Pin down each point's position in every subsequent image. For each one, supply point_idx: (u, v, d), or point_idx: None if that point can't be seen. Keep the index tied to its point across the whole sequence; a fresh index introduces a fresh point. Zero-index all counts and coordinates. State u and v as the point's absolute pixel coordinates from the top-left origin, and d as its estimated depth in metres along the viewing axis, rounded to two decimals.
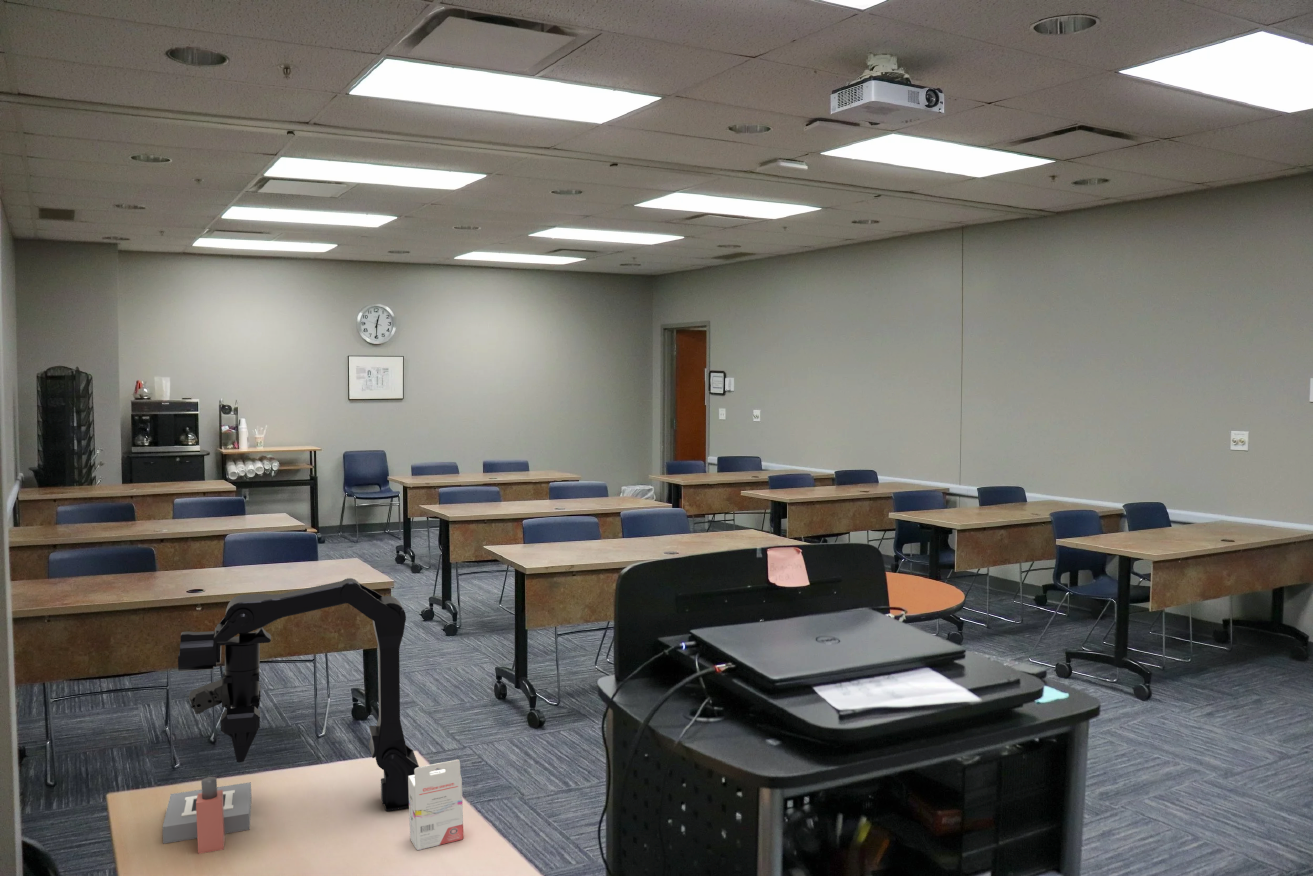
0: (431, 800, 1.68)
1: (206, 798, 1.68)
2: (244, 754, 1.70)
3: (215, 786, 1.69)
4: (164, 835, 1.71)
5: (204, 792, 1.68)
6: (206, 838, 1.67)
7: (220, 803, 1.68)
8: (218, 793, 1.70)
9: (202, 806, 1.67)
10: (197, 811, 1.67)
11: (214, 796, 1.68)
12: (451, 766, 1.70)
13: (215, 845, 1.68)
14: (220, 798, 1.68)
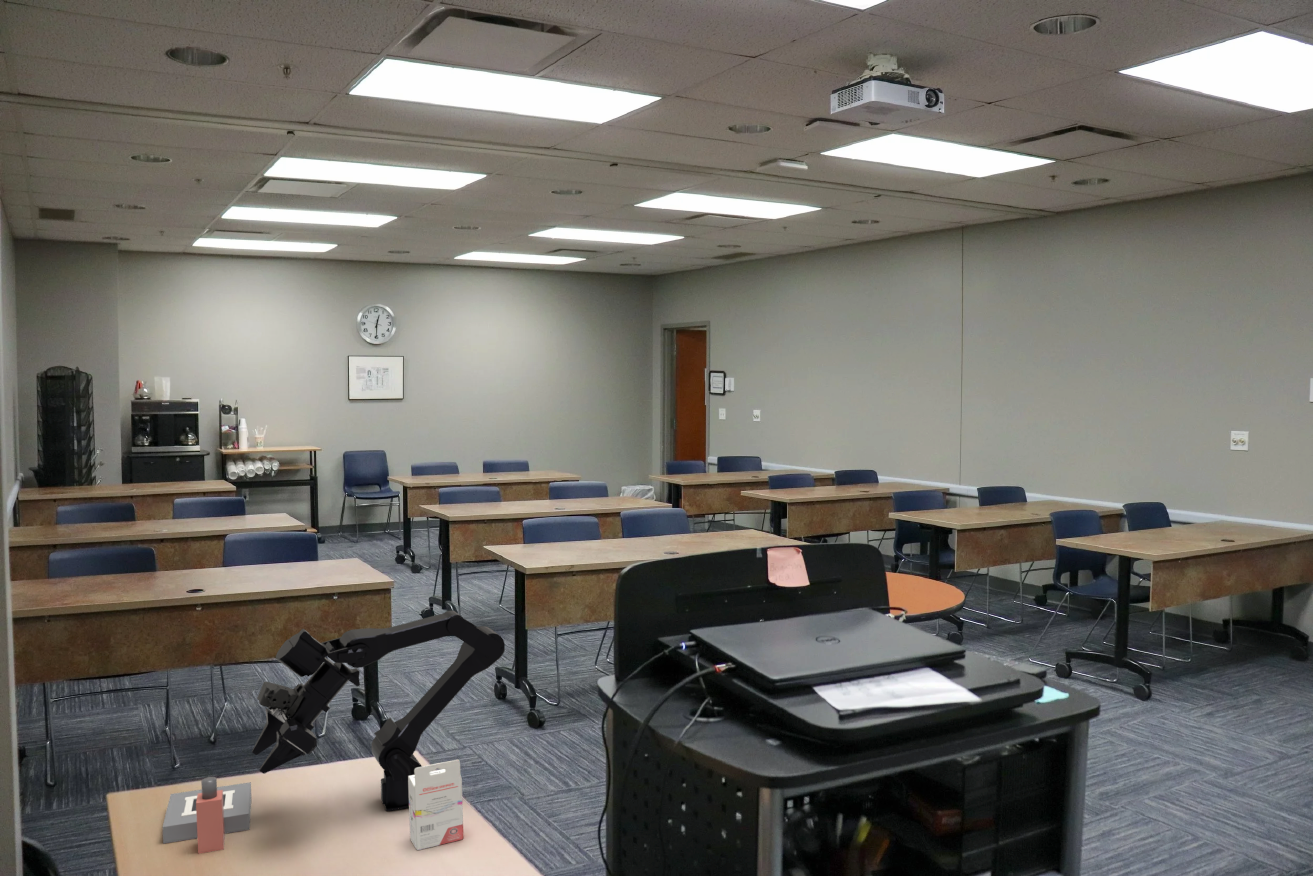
0: (431, 800, 1.68)
1: (206, 798, 1.68)
2: (271, 768, 1.69)
3: (215, 786, 1.69)
4: (164, 835, 1.71)
5: (204, 792, 1.68)
6: (206, 838, 1.67)
7: (220, 803, 1.68)
8: (218, 793, 1.70)
9: (202, 806, 1.67)
10: (197, 811, 1.67)
11: (214, 796, 1.68)
12: (451, 766, 1.70)
13: (215, 845, 1.68)
14: (220, 798, 1.68)
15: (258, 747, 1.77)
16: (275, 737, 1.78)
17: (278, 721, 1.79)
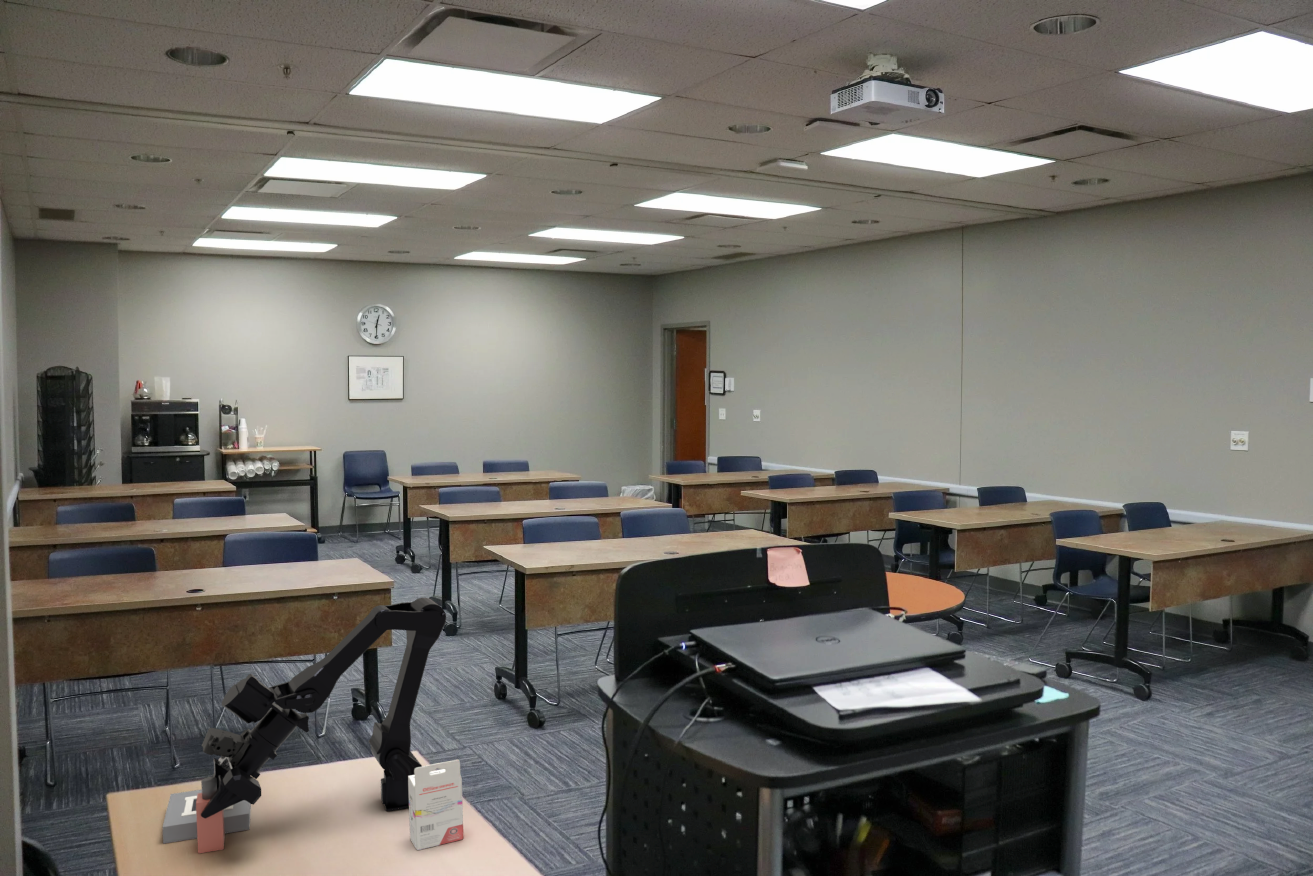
0: (431, 800, 1.68)
1: (206, 798, 1.68)
2: (212, 813, 1.67)
3: (215, 786, 1.69)
4: (164, 835, 1.71)
5: (204, 792, 1.68)
6: (206, 838, 1.67)
7: None
8: None
9: (202, 806, 1.67)
10: (197, 811, 1.66)
11: None
12: (451, 766, 1.70)
13: (214, 845, 1.68)
14: None
15: None
16: None
17: (226, 772, 1.73)
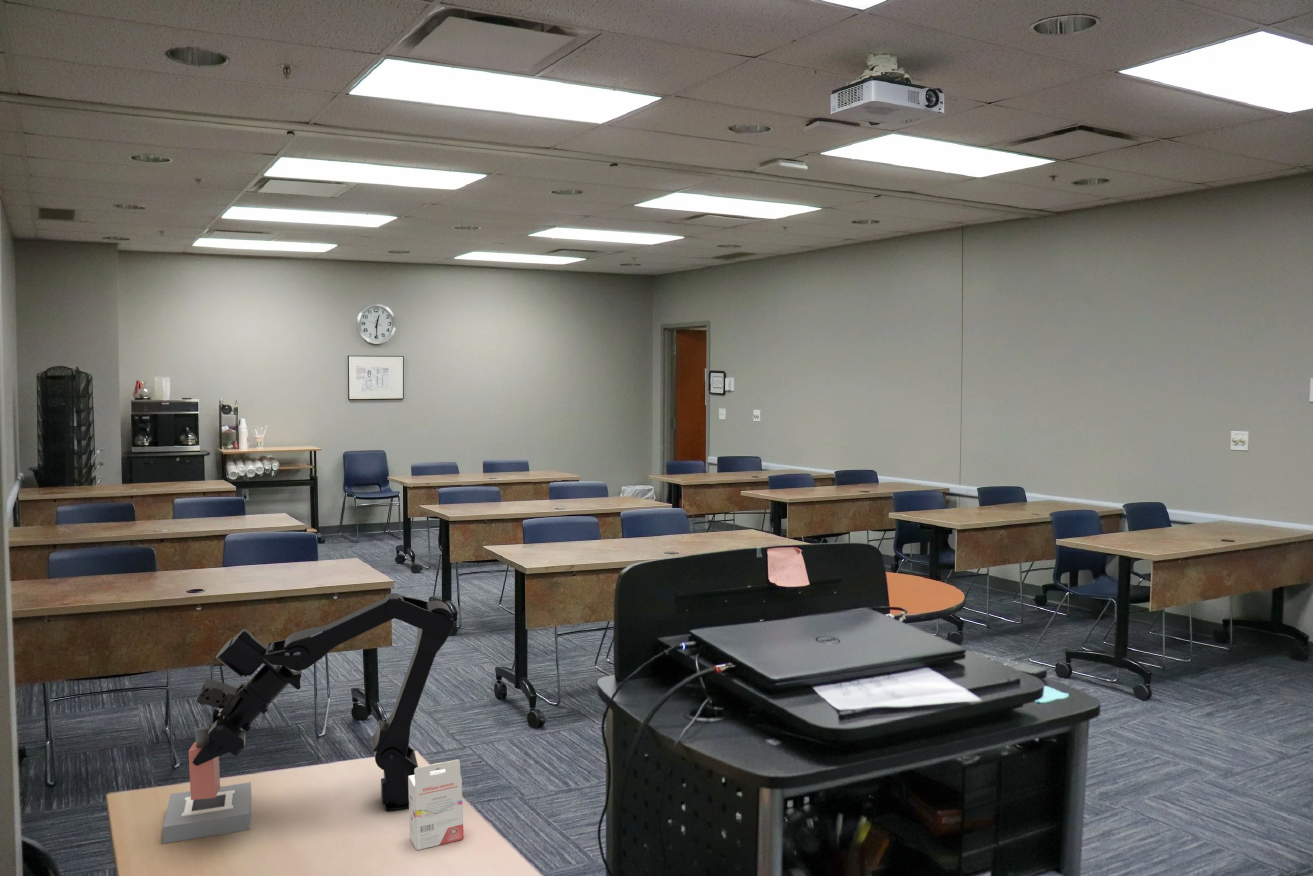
0: (431, 800, 1.68)
1: (199, 747, 1.73)
2: (203, 761, 1.71)
3: (208, 736, 1.73)
4: (164, 835, 1.71)
5: (197, 741, 1.73)
6: (198, 785, 1.72)
7: None
8: None
9: (194, 754, 1.72)
10: (189, 758, 1.72)
11: None
12: (451, 766, 1.70)
13: (206, 793, 1.73)
14: None
15: None
16: None
17: None
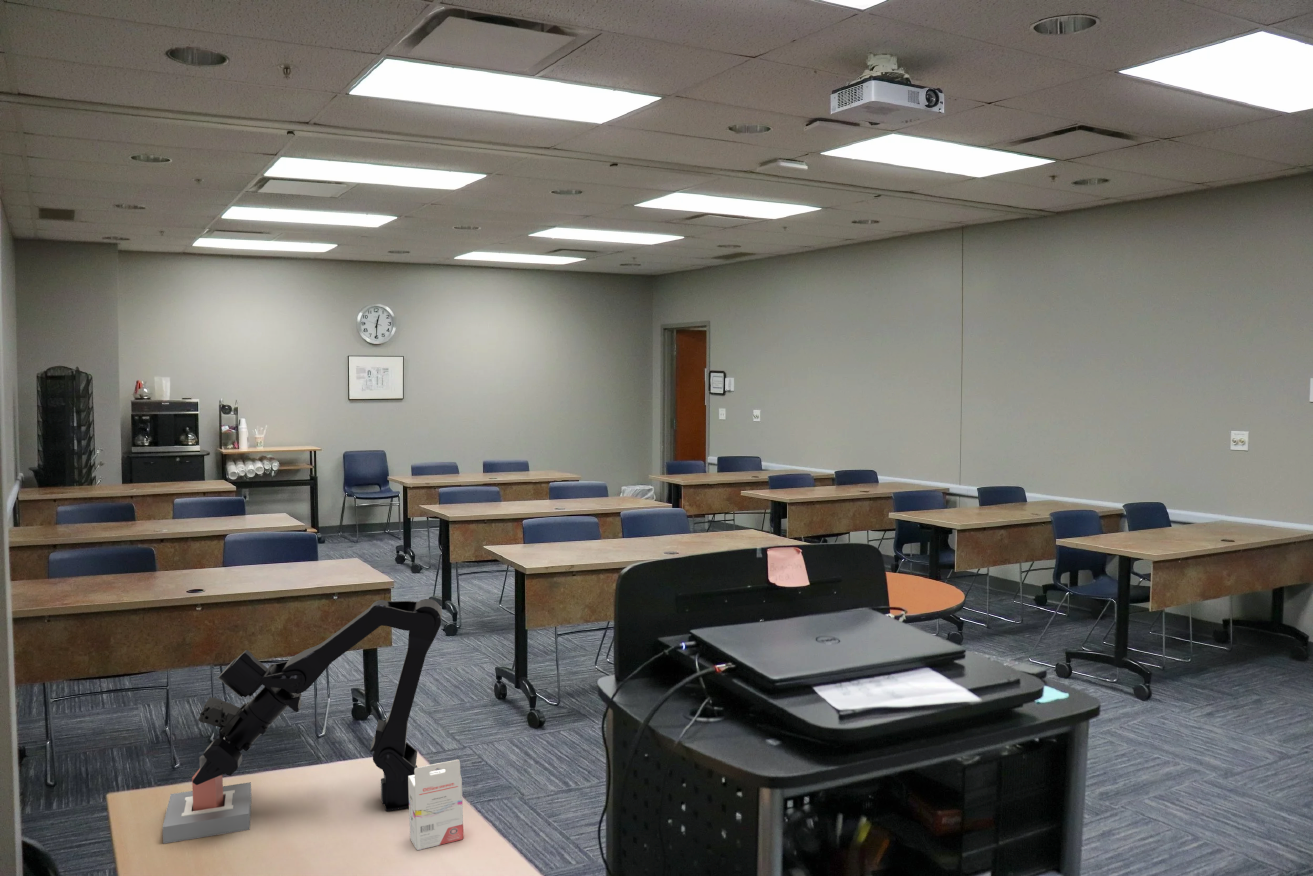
0: (431, 800, 1.68)
1: None
2: (202, 780, 1.75)
3: None
4: (164, 835, 1.71)
5: None
6: None
7: (214, 780, 1.77)
8: None
9: None
10: (193, 785, 1.77)
11: None
12: (451, 766, 1.70)
13: None
14: None
15: None
16: None
17: None
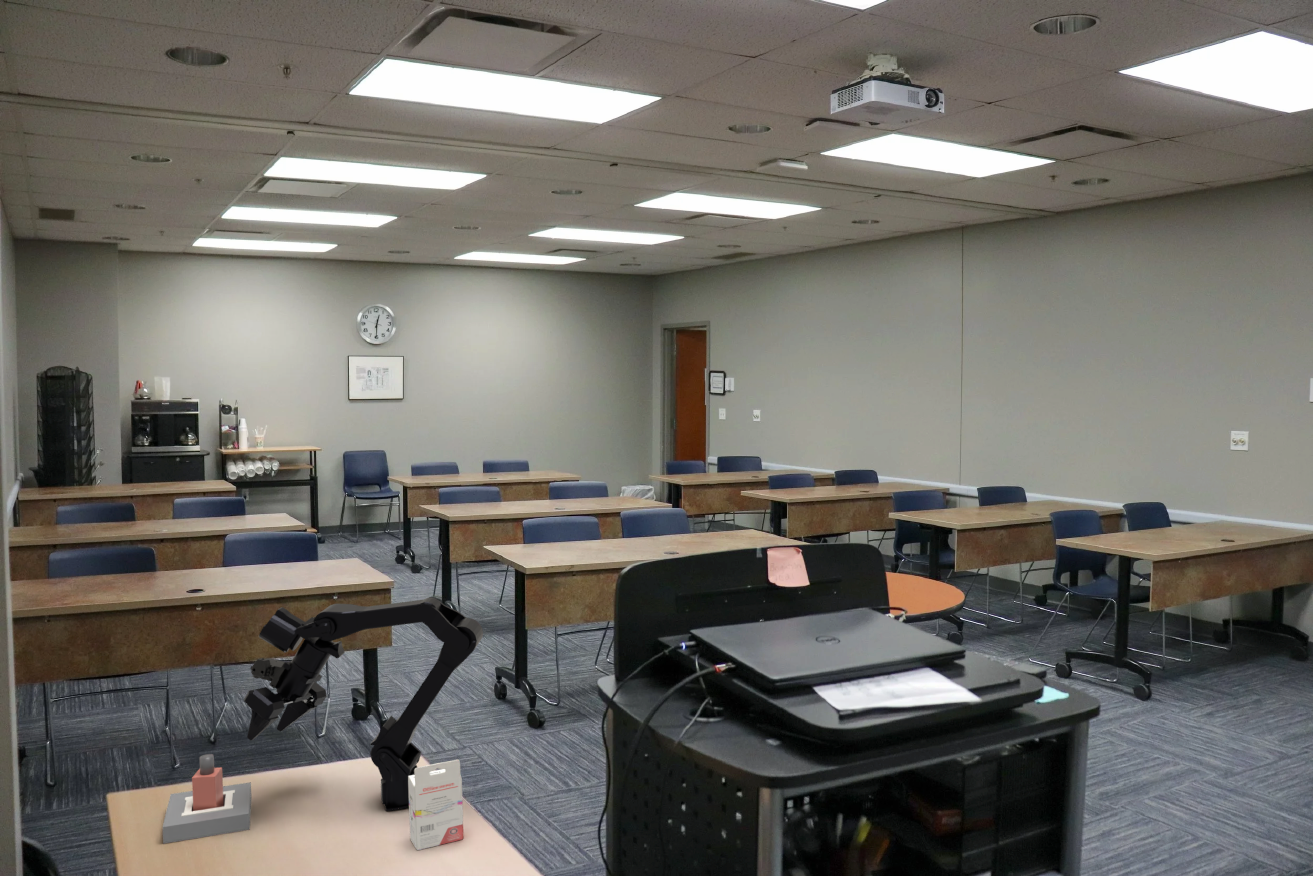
0: (431, 800, 1.68)
1: (202, 774, 1.78)
2: (254, 734, 1.79)
3: (211, 763, 1.78)
4: (164, 835, 1.71)
5: (201, 768, 1.78)
6: None
7: (214, 780, 1.77)
8: (215, 770, 1.80)
9: (198, 781, 1.77)
10: (193, 785, 1.77)
11: (210, 773, 1.78)
12: (451, 766, 1.70)
13: None
14: (214, 775, 1.77)
15: (281, 724, 1.89)
16: (295, 715, 1.89)
17: None
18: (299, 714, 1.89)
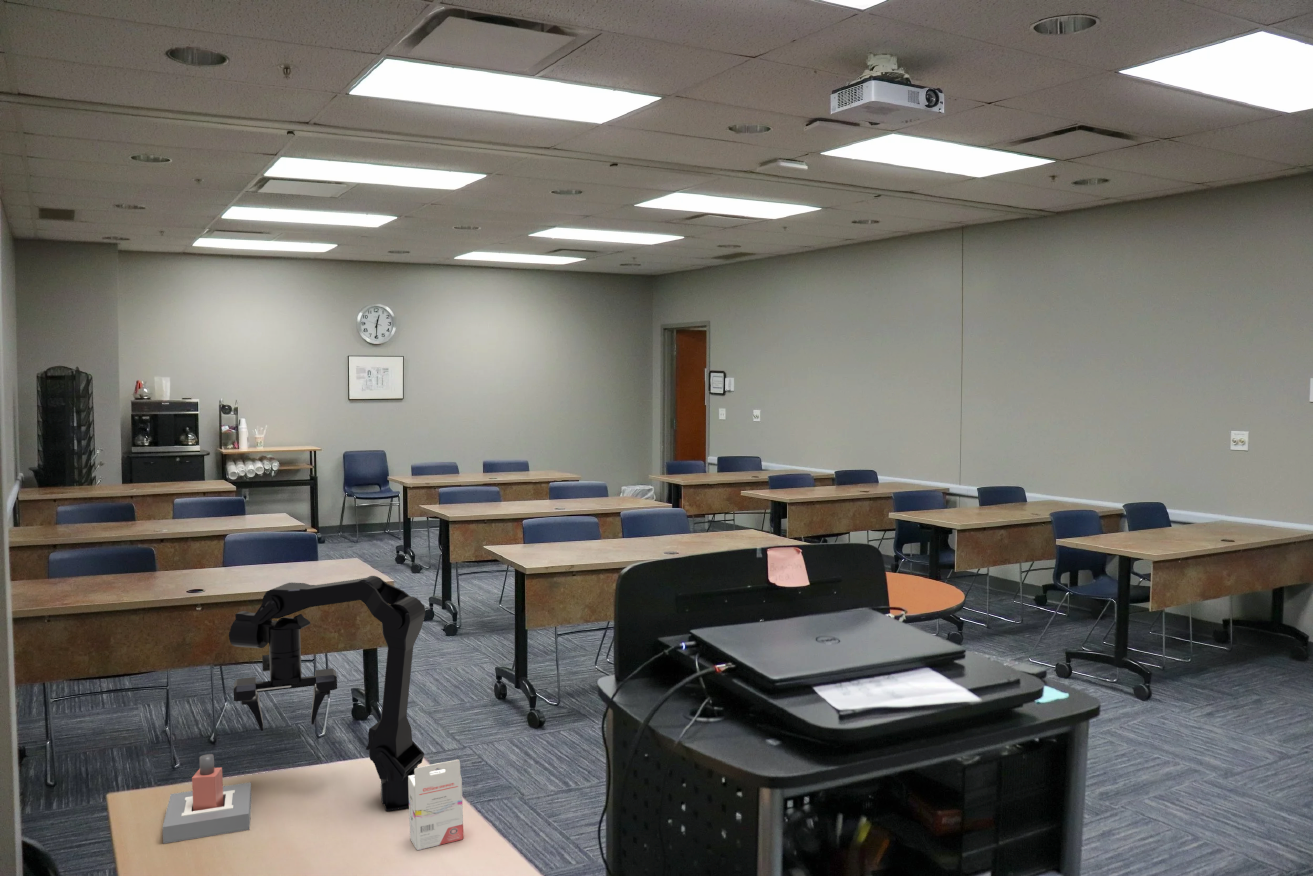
0: (431, 800, 1.68)
1: (202, 774, 1.78)
2: (258, 724, 1.87)
3: (211, 763, 1.78)
4: (164, 835, 1.71)
5: (201, 768, 1.78)
6: None
7: (214, 780, 1.77)
8: (215, 770, 1.79)
9: (198, 781, 1.77)
10: (193, 785, 1.77)
11: (210, 773, 1.78)
12: (451, 766, 1.70)
13: None
14: (214, 775, 1.77)
15: None
16: None
17: (314, 690, 1.92)
18: (314, 703, 1.90)
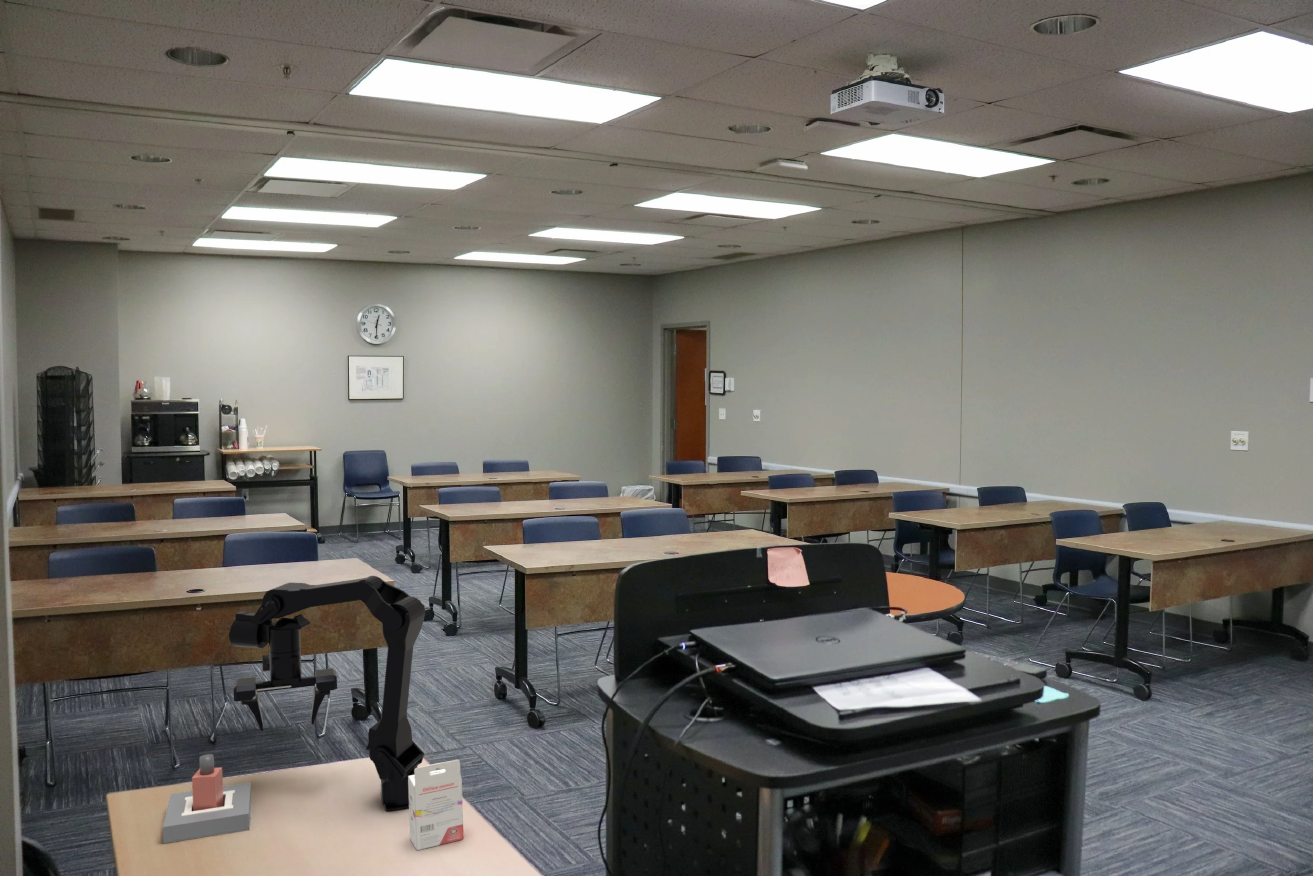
0: (431, 800, 1.68)
1: (202, 774, 1.78)
2: (258, 724, 1.87)
3: (211, 763, 1.78)
4: (164, 835, 1.71)
5: (201, 768, 1.78)
6: None
7: (214, 780, 1.77)
8: (215, 770, 1.80)
9: (197, 781, 1.77)
10: (193, 785, 1.77)
11: (210, 773, 1.78)
12: (451, 766, 1.70)
13: None
14: (214, 775, 1.77)
15: None
16: None
17: (314, 690, 1.92)
18: (314, 703, 1.90)
